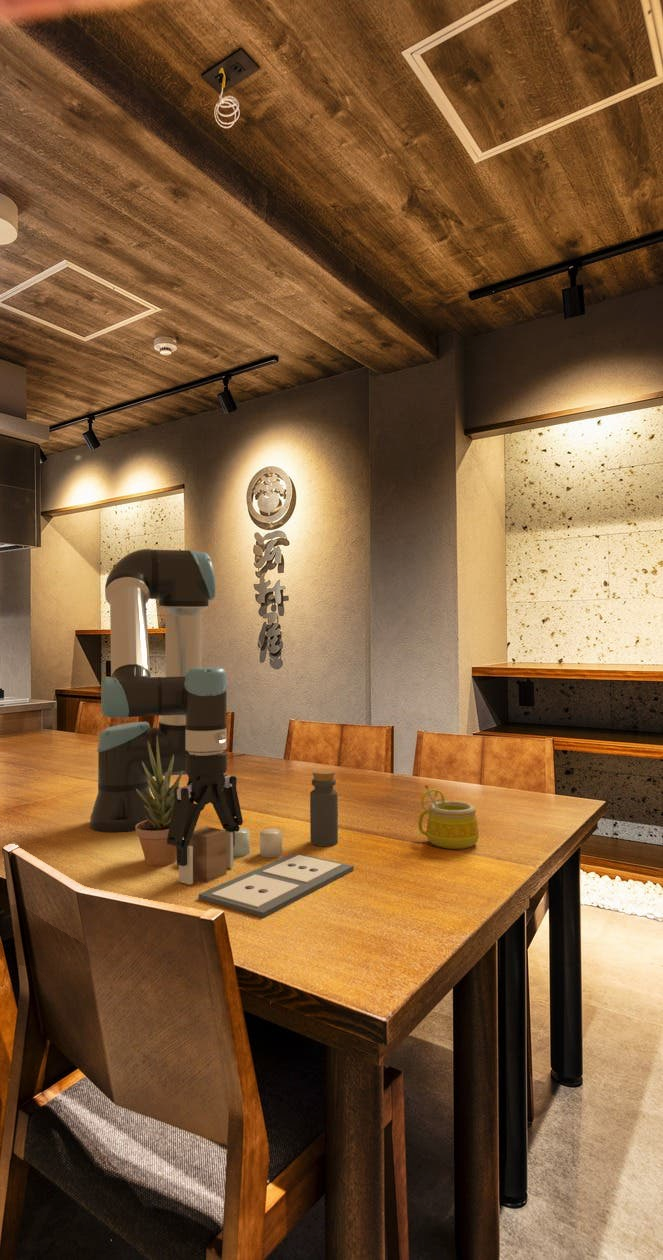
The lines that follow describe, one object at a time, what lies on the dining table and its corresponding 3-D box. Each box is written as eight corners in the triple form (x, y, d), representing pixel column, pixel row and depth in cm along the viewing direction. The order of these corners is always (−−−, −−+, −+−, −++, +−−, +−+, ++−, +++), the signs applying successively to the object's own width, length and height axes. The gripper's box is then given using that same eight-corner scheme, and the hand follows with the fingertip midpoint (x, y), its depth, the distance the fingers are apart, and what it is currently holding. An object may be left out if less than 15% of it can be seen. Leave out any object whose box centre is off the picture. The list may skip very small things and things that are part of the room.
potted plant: (132, 857, 135) (132, 733, 135) (180, 850, 139) (180, 730, 139) (139, 872, 126) (138, 739, 126) (190, 865, 129) (190, 736, 130)
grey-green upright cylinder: (223, 854, 136) (223, 831, 136) (237, 848, 140) (237, 826, 140) (239, 858, 134) (239, 835, 134) (254, 852, 138) (254, 829, 138)
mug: (484, 839, 145) (483, 783, 145) (472, 854, 135) (471, 794, 135) (426, 833, 150) (425, 778, 150) (410, 846, 140) (410, 788, 140)
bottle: (335, 847, 140) (334, 774, 140) (307, 845, 141) (307, 773, 142) (340, 839, 146) (339, 769, 146) (313, 837, 147) (313, 768, 147)
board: (198, 898, 113) (198, 892, 113) (294, 856, 134) (293, 851, 134) (263, 917, 105) (263, 910, 105) (353, 870, 126) (353, 864, 126)
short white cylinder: (255, 855, 135) (255, 832, 136) (269, 849, 139) (269, 827, 139) (272, 859, 133) (272, 836, 133) (286, 853, 137) (286, 830, 137)
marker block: (187, 877, 123) (187, 832, 123) (206, 869, 127) (206, 826, 128) (207, 882, 120) (206, 837, 121) (226, 874, 125) (226, 830, 125)
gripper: (174, 763, 113) (175, 897, 113) (261, 745, 131) (262, 861, 131) (144, 758, 117) (144, 888, 117) (232, 742, 136) (233, 854, 135)
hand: (206, 874), depth 124 cm, fingers open, 10 cm apart
